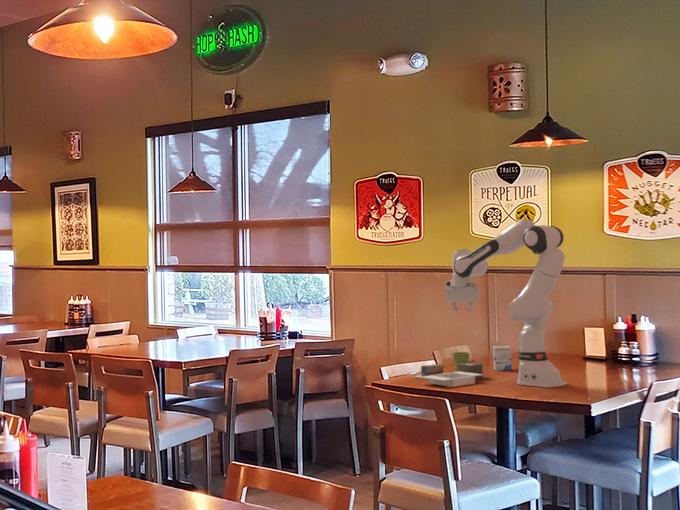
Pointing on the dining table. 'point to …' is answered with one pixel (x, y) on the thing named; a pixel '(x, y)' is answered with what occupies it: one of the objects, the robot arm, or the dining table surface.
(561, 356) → the dining table surface
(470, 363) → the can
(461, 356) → the plant pot
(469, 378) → the grey tray
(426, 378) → the sage mat
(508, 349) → the ink box
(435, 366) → the walnut box
